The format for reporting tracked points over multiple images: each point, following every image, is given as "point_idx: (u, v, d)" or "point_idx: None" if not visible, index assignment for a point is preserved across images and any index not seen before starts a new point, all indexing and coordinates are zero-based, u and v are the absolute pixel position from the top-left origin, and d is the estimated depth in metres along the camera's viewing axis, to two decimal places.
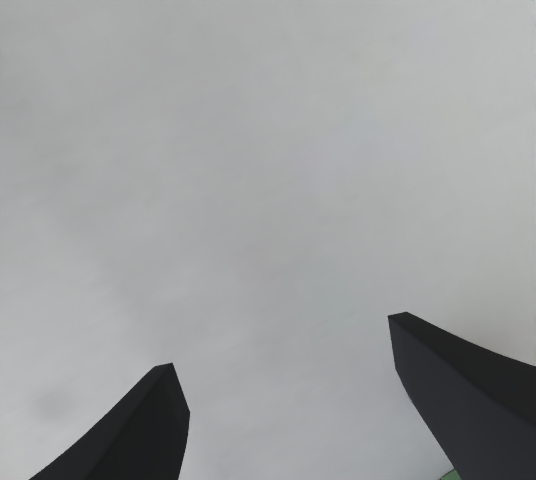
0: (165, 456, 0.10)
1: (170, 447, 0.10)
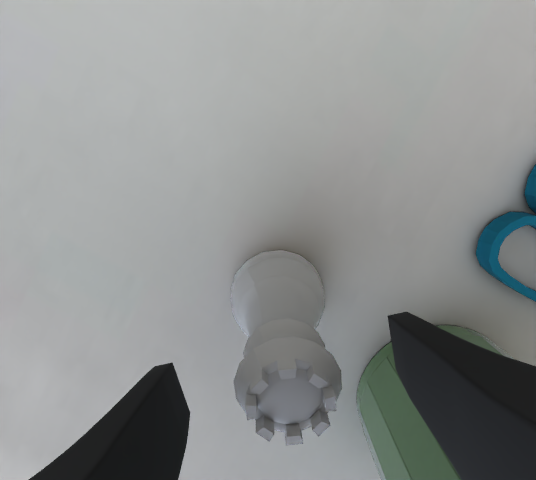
0: (165, 456, 0.10)
1: (170, 447, 0.10)
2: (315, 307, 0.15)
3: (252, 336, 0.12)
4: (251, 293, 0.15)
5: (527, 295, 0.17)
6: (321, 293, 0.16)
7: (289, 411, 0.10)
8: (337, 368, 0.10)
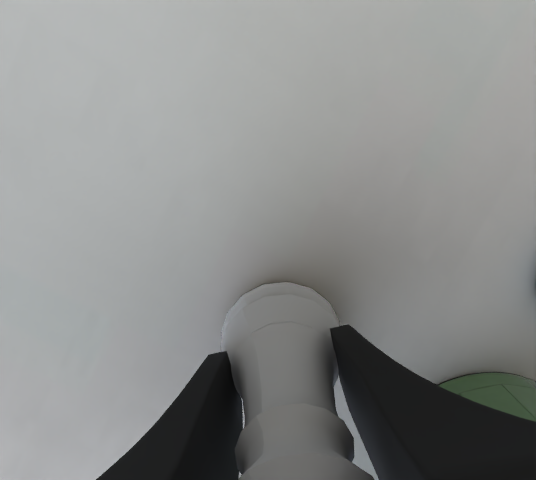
0: (229, 443, 0.10)
1: (232, 434, 0.10)
2: (333, 364, 0.11)
3: (247, 428, 0.08)
4: (247, 346, 0.11)
5: None
6: None
7: None
8: None
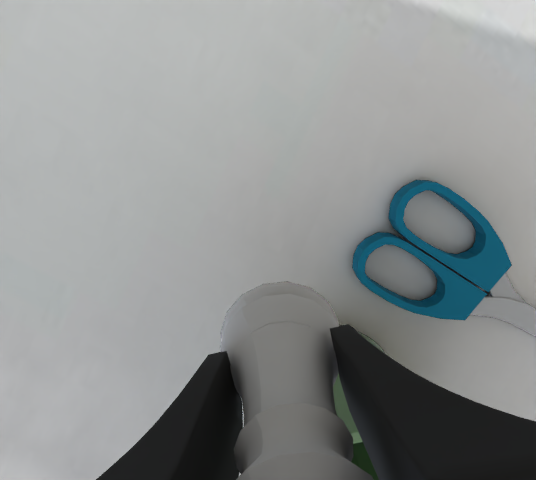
0: (229, 443, 0.10)
1: (232, 434, 0.10)
2: (333, 363, 0.11)
3: (246, 428, 0.08)
4: (247, 345, 0.11)
5: (393, 302, 0.20)
6: None
7: None
8: None
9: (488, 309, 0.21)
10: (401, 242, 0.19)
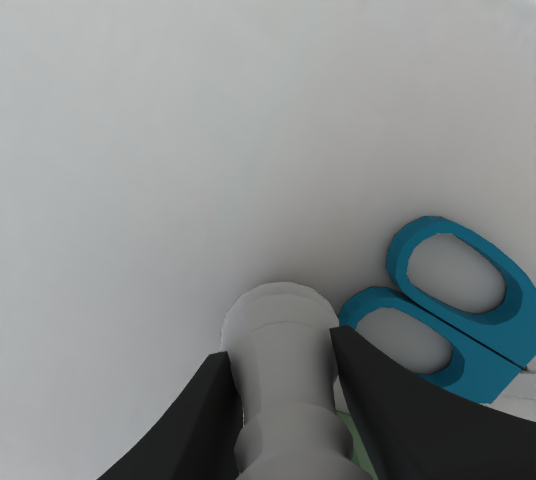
0: (230, 443, 0.09)
1: (232, 434, 0.10)
2: (333, 363, 0.11)
3: (247, 427, 0.08)
4: (247, 345, 0.11)
5: None
6: None
7: None
8: None
9: (522, 389, 0.15)
10: (404, 304, 0.13)
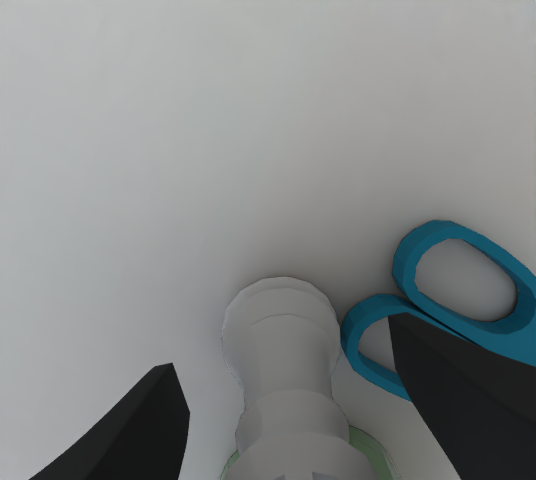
0: (165, 456, 0.10)
1: (170, 447, 0.10)
2: (330, 354, 0.11)
3: (247, 413, 0.08)
4: (247, 337, 0.11)
5: (399, 394, 0.14)
6: (337, 333, 0.12)
7: None
8: (373, 475, 0.07)
9: None
10: (411, 313, 0.13)
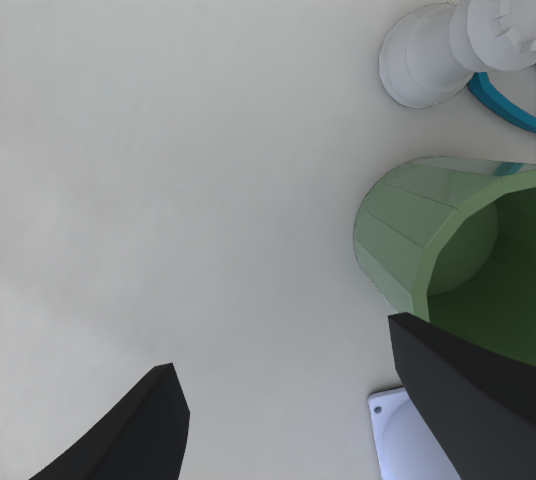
0: (165, 456, 0.10)
1: (170, 447, 0.10)
2: None
3: (462, 2, 0.12)
4: (421, 23, 0.15)
5: (515, 114, 0.17)
6: None
7: (531, 20, 0.10)
8: None
9: None
10: None
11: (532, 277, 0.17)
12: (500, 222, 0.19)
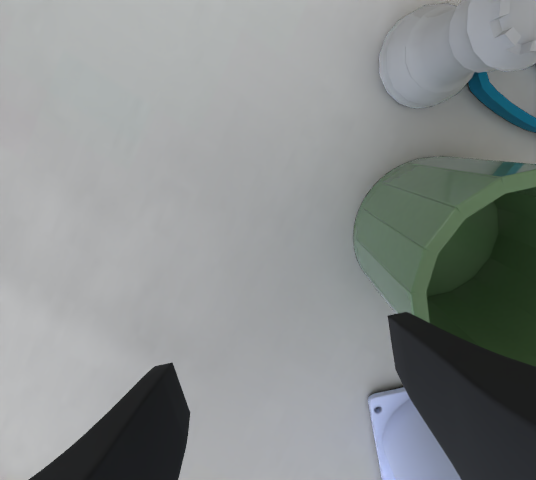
0: (165, 456, 0.10)
1: (170, 447, 0.10)
2: None
3: (462, 2, 0.12)
4: (421, 23, 0.15)
5: (515, 114, 0.17)
6: None
7: (532, 21, 0.10)
8: None
9: None
10: None
11: (532, 277, 0.17)
12: (500, 222, 0.19)
